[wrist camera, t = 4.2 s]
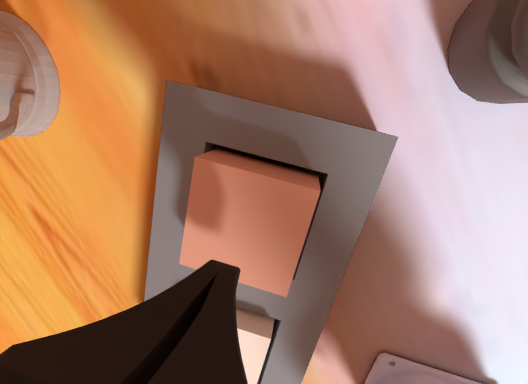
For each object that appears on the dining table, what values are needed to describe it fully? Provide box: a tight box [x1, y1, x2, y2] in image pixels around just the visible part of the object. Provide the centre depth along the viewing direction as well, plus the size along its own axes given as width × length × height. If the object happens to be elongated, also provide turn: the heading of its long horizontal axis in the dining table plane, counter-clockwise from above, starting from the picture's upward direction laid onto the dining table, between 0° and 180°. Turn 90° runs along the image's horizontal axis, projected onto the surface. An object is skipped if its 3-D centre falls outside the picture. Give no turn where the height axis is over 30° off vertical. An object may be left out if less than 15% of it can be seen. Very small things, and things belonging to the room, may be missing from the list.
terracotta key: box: [179, 149, 320, 297], centre depth 14 cm, size 6×6×3 cm
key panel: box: [144, 80, 398, 384], centre depth 18 cm, size 12×22×4 cm, turn 167°
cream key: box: [236, 306, 274, 384], centre depth 18 cm, size 6×6×3 cm
